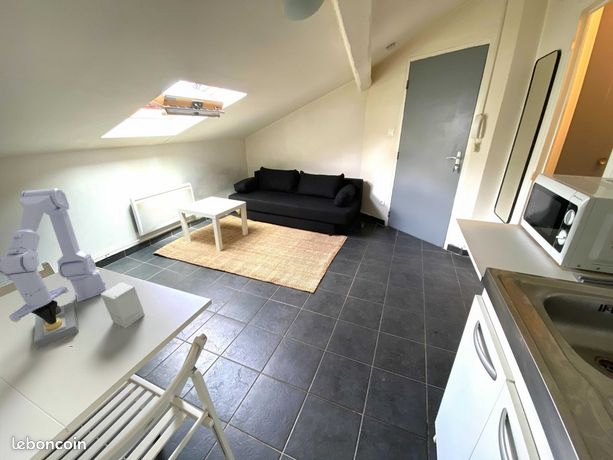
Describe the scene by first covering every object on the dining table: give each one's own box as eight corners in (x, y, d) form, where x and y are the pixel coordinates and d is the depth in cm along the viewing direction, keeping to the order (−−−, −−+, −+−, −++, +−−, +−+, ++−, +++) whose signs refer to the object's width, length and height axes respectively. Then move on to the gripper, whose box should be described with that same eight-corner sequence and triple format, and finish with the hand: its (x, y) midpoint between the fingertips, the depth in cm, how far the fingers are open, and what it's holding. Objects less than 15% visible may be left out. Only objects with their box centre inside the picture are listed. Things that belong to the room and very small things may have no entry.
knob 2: (65, 314, 96) (59, 303, 94) (65, 320, 93) (59, 309, 91) (50, 319, 93) (44, 309, 91) (50, 326, 90) (44, 315, 88)
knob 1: (66, 326, 90) (60, 316, 88) (66, 333, 87) (60, 322, 85) (50, 333, 87) (44, 322, 85) (50, 340, 85) (44, 328, 83)
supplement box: (145, 314, 95) (135, 286, 90) (125, 328, 89) (113, 299, 84) (132, 309, 98) (121, 281, 92) (112, 322, 92) (99, 293, 86)
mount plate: (75, 308, 99) (71, 301, 97) (78, 332, 88) (74, 324, 86) (39, 322, 93) (34, 314, 91) (38, 349, 82) (33, 341, 80)
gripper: (49, 273, 87) (66, 305, 92) (-7, 302, 74) (16, 337, 80) (65, 276, 85) (81, 308, 91) (10, 306, 72) (33, 341, 78)
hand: (52, 322), depth 85 cm, fingers closed, pressing on knob 1
